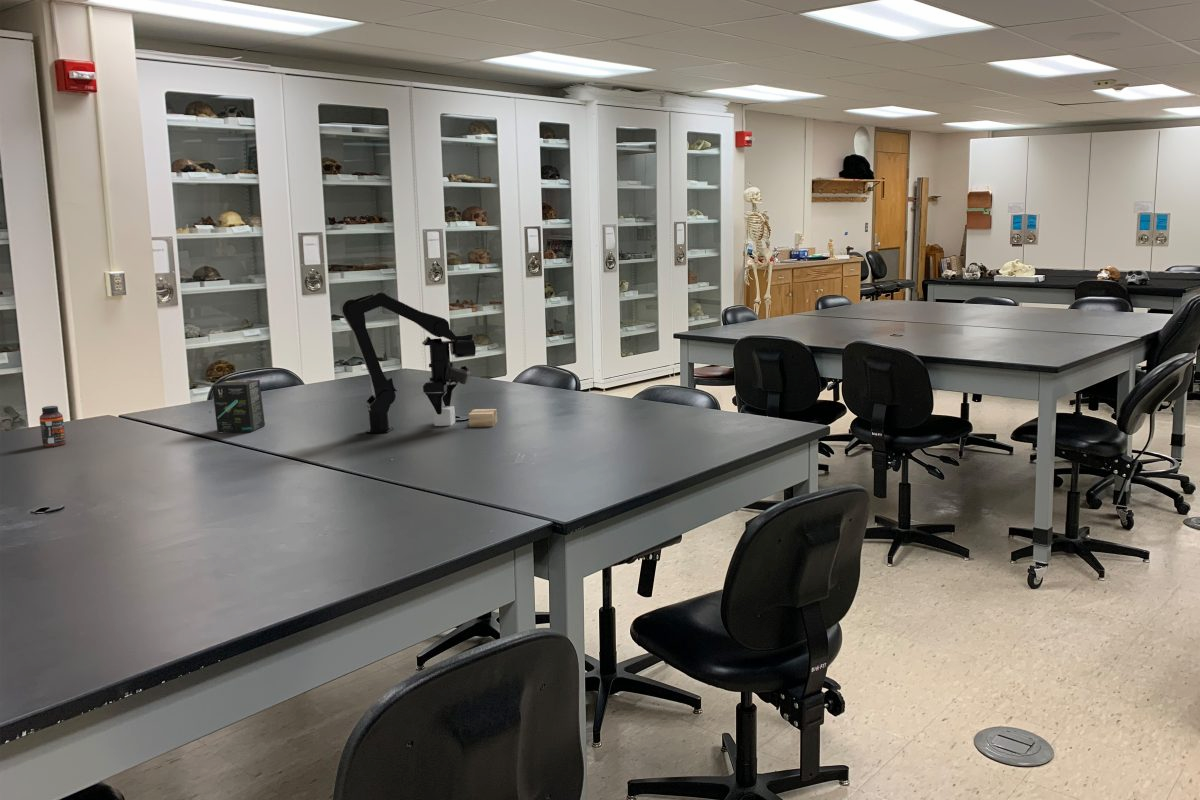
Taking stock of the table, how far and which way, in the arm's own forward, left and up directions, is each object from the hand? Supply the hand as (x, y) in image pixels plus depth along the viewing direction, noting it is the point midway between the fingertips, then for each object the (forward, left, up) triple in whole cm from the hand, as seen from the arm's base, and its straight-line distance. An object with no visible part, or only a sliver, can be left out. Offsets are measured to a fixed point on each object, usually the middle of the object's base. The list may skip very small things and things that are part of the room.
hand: (443, 411), depth 288 cm
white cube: (0, 0, -4) cm, 4 cm away
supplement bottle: (-22, +110, -4) cm, 112 cm away
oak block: (-1, -12, -4) cm, 13 cm away
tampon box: (-4, +62, -4) cm, 62 cm away
